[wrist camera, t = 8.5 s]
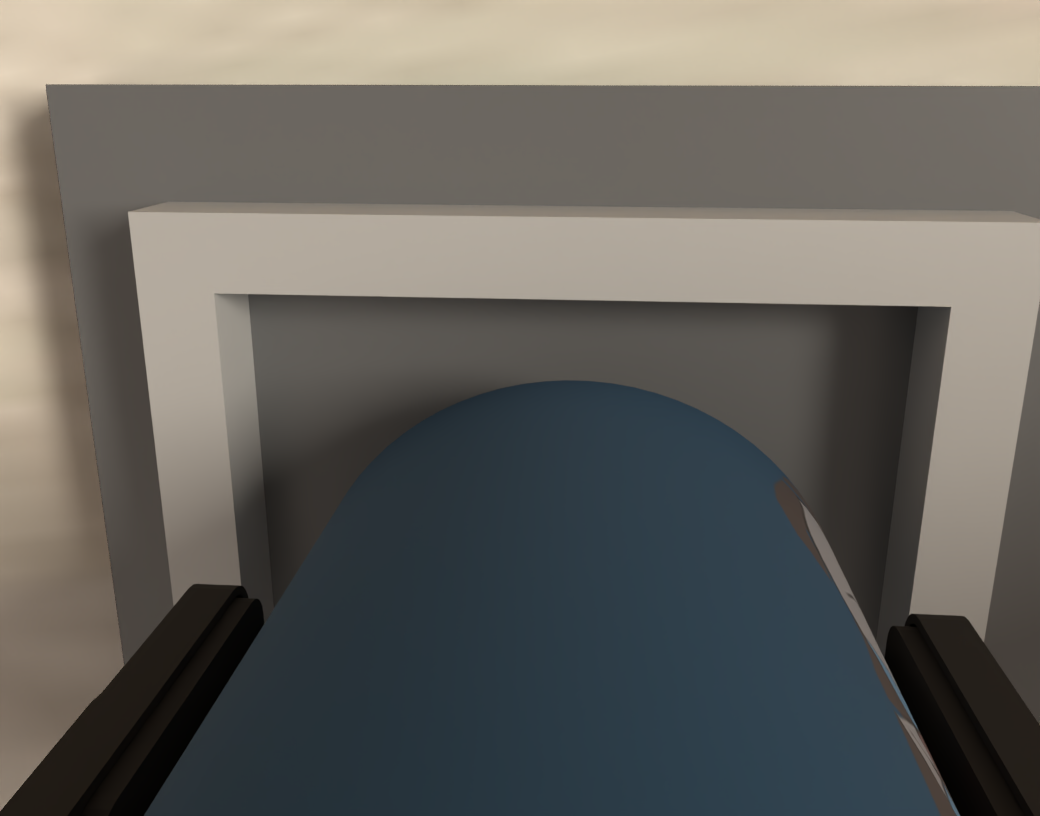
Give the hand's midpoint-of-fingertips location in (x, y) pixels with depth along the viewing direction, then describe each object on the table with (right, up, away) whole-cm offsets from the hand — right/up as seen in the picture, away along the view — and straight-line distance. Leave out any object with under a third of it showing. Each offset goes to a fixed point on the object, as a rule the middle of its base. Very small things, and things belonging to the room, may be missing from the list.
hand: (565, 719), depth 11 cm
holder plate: (0, +1, +5) cm, 5 cm away
